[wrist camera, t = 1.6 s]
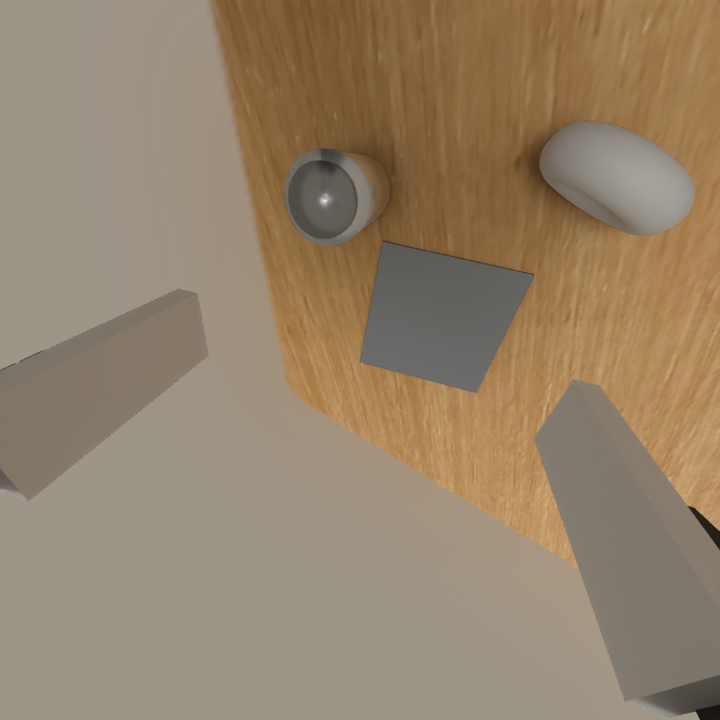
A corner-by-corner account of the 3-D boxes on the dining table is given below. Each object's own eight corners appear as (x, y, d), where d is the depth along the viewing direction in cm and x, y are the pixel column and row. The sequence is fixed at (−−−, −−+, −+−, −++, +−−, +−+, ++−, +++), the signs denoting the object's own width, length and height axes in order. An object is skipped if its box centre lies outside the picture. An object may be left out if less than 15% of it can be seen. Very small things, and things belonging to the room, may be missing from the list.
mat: (383, 241, 31) (383, 241, 30) (533, 274, 29) (534, 275, 29) (360, 361, 39) (359, 362, 39) (475, 391, 37) (476, 392, 37)
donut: (648, 193, 24) (755, 205, 16) (608, 232, 26) (685, 261, 18) (549, 119, 23) (609, 92, 15) (515, 166, 25) (551, 164, 17)
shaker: (336, 149, 27) (279, 139, 18) (396, 161, 27) (372, 157, 17) (330, 216, 30) (278, 238, 21) (383, 228, 30) (357, 256, 20)
